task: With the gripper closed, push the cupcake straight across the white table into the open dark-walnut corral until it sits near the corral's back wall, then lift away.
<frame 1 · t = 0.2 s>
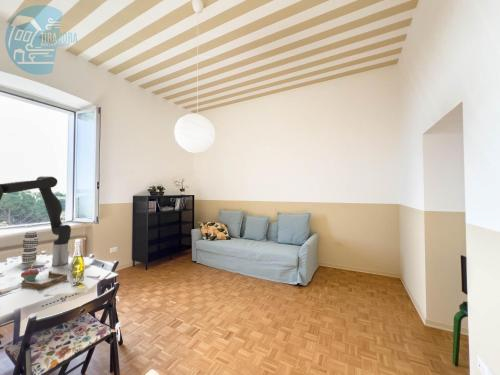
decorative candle: (29, 261, 175), on the table
cupcake: (29, 280, 141), on the table
walnut corral: (45, 282, 138), on the table
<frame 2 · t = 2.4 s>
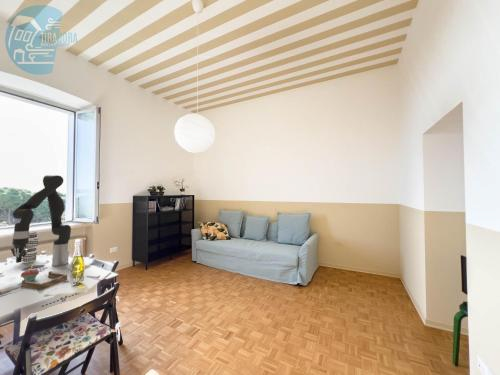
hand: (18, 262, 143), 11 cm above the table, fingers closed
nothing on the table moved.
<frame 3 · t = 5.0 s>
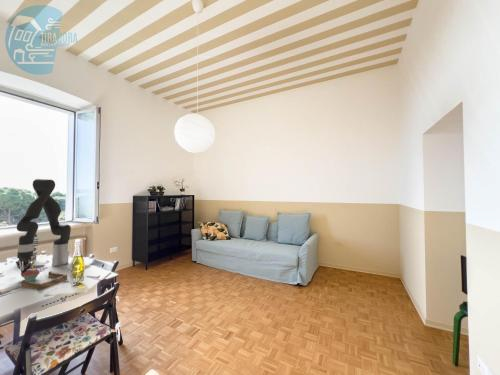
hand: (23, 275, 142), 3 cm above the table, fingers closed
cupcake: (30, 280, 140), on the table, touching gripper
everything else where it was.
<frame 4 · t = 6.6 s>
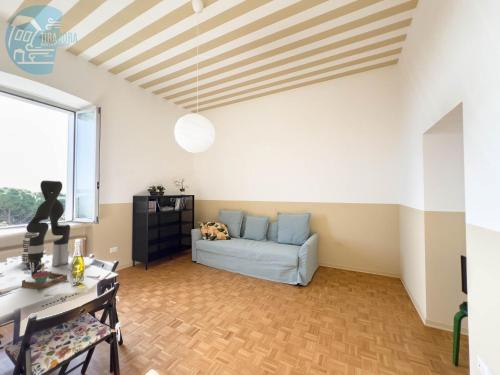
hand: (33, 276, 140), 3 cm above the table, fingers closed
cupcake: (40, 282, 139), on the table, touching gripper
everything else where it was.
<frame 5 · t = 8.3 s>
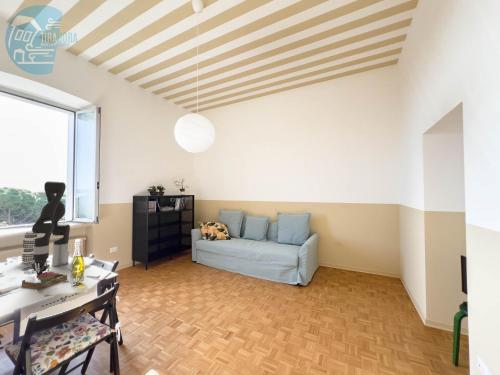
hand: (39, 277, 140), 3 cm above the table, fingers closed
cupcake: (46, 283, 138), on the table, touching gripper
everything else where it was.
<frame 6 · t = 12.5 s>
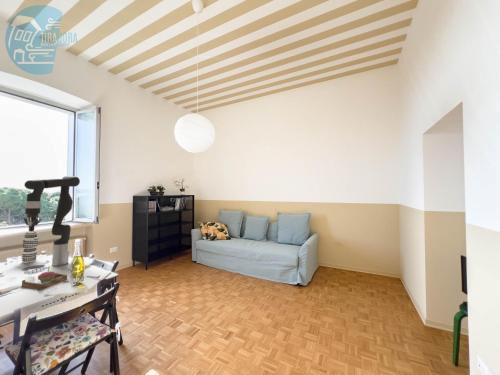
hand: (31, 231, 148), 32 cm above the table, fingers closed
cupcake: (46, 283, 138), on the table
everything else where it was.
at the end: cupcake inside the target area (1.1 cm from its centre), on the table; cupcake tilted 0°; cupcake moved 14.1 cm from its start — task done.
